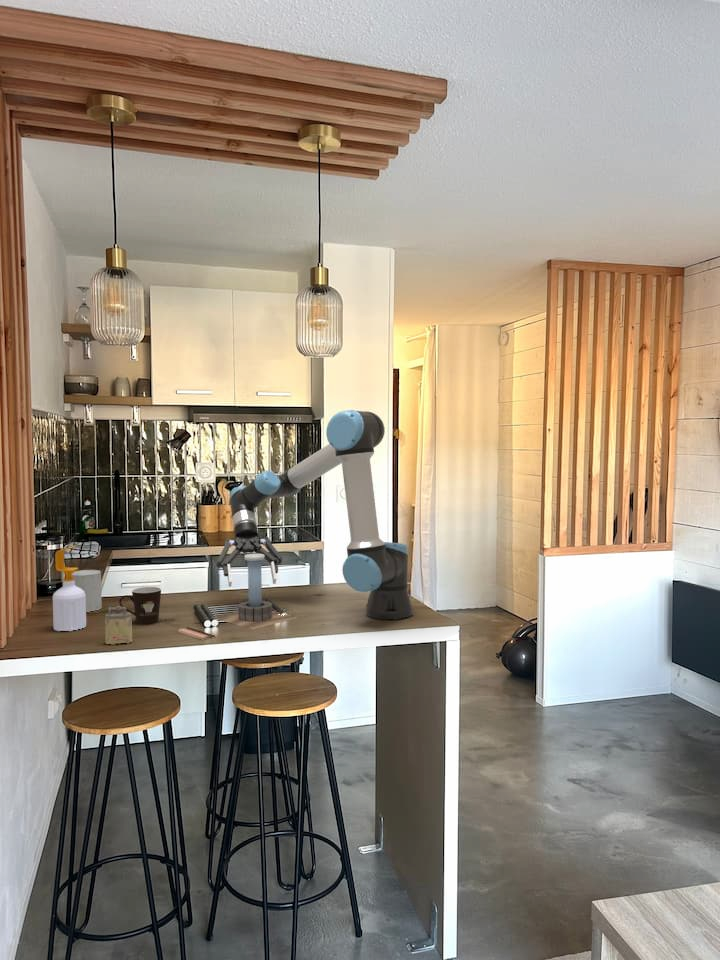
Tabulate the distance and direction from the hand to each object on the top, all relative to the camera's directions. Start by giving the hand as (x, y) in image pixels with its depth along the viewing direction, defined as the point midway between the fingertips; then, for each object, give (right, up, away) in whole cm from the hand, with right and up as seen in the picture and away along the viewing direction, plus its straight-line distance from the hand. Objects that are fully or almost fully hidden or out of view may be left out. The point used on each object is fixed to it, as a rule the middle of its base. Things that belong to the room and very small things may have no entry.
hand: (252, 582), depth 215 cm
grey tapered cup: (-57, -11, +17) cm, 61 cm away
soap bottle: (-53, -13, -6) cm, 55 cm away
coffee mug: (-34, -12, +1) cm, 36 cm away
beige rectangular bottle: (-34, -14, -21) cm, 42 cm away
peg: (+1, -11, 0) cm, 11 cm away
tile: (-11, -13, -10) cm, 20 cm away
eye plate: (+1, -12, 0) cm, 12 cm away
